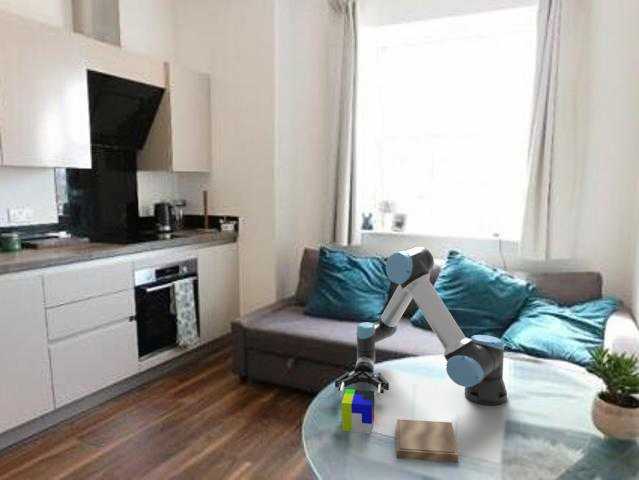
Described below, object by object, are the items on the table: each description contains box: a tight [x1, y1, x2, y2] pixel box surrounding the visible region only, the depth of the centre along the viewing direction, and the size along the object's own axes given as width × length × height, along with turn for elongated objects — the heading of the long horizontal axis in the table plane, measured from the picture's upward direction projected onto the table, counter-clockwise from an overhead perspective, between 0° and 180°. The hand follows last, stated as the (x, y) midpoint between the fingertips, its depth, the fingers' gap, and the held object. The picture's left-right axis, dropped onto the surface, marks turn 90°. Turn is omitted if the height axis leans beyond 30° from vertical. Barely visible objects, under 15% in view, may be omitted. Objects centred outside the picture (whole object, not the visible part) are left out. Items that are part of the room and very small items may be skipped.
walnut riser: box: [396, 418, 459, 464], centre depth 151 cm, size 18×18×3 cm
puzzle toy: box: [340, 388, 375, 434], centre depth 163 cm, size 10×10×10 cm
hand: (359, 394), depth 172 cm, fingers open, 13 cm apart
